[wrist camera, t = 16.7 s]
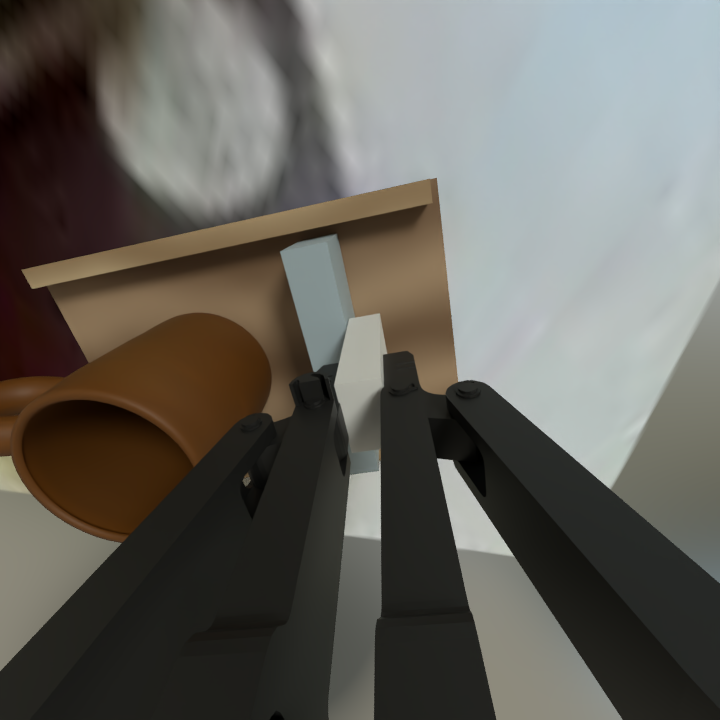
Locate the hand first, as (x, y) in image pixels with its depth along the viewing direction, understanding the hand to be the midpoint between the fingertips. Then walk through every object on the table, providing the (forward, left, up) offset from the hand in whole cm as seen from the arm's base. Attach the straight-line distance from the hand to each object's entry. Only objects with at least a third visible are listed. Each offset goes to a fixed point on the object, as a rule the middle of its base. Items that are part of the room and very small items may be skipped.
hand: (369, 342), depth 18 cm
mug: (0, -12, -3) cm, 12 cm away
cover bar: (+1, -2, -3) cm, 4 cm away
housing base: (+1, -7, -4) cm, 8 cm away
